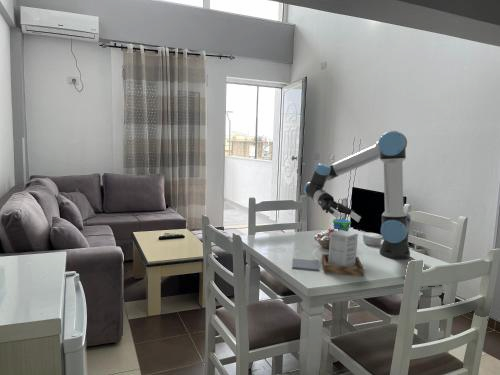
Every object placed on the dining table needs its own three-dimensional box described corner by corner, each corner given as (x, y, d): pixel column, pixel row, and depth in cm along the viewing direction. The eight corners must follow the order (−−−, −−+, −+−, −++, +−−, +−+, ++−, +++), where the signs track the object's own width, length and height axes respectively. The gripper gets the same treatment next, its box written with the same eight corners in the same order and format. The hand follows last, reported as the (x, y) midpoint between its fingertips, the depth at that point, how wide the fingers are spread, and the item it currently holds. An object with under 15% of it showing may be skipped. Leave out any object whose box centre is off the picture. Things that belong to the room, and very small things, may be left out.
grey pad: (317, 262, 181) (317, 260, 181) (319, 271, 169) (319, 269, 169) (292, 260, 182) (292, 258, 182) (292, 268, 170) (292, 266, 170)
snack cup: (351, 240, 225) (353, 224, 224) (333, 239, 226) (335, 222, 224) (346, 234, 240) (348, 218, 239) (330, 233, 241) (331, 217, 240)
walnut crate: (357, 263, 182) (357, 256, 182) (363, 276, 165) (363, 268, 165) (321, 260, 184) (322, 253, 184) (323, 272, 167) (324, 265, 167)
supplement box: (355, 269, 175) (359, 233, 172) (344, 273, 168) (348, 236, 166) (337, 263, 181) (340, 229, 179) (326, 267, 175) (329, 231, 173)
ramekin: (379, 247, 214) (380, 238, 213) (359, 244, 219) (360, 235, 218) (383, 243, 223) (384, 234, 223) (364, 240, 229) (365, 231, 228)
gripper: (338, 209, 203) (364, 227, 185) (302, 202, 191) (326, 221, 173) (344, 196, 201) (370, 214, 183) (307, 188, 189) (332, 206, 171)
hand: (349, 217), depth 178 cm, fingers open, 13 cm apart
